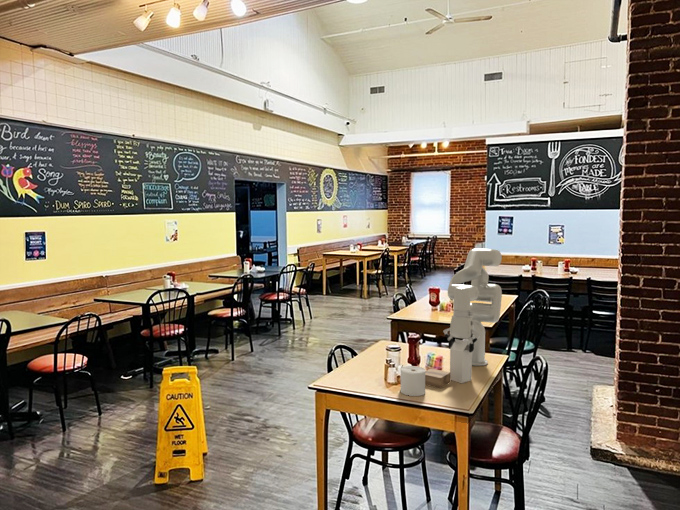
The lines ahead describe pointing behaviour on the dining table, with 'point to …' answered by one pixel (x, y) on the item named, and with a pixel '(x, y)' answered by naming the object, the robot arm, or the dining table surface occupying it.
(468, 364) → the milk carton
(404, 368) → the toilet tissue
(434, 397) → the dining table surface
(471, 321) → the robot arm
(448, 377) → the walnut block
